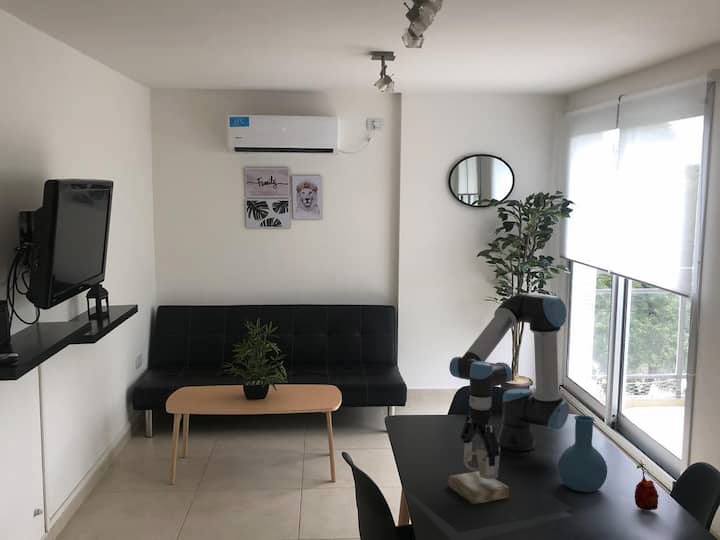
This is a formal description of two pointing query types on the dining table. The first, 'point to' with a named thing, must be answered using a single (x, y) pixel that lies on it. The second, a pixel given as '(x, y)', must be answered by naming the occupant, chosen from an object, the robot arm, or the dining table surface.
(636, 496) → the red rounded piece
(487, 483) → the plinth
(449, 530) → the dining table surface
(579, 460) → the vase
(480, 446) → the mug
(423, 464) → the dining table surface
